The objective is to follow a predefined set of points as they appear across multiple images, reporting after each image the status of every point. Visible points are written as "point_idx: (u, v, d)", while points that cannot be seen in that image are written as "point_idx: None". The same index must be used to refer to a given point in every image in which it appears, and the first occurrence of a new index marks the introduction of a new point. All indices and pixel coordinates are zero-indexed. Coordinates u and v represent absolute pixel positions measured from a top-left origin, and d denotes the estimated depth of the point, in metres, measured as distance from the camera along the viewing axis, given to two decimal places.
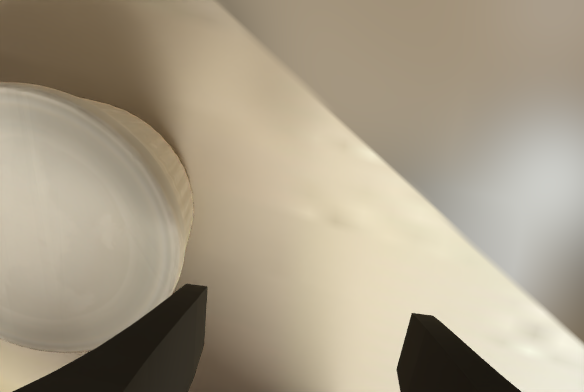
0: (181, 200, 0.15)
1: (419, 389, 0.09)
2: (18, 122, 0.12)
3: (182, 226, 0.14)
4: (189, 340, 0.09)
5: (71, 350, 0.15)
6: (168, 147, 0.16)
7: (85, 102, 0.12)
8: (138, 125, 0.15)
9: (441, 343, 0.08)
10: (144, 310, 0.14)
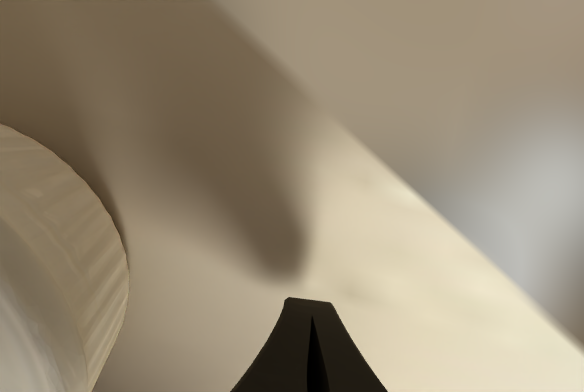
0: (88, 285, 0.08)
1: None
2: None
3: (75, 348, 0.07)
4: None
5: None
6: (78, 188, 0.10)
7: None
8: (12, 155, 0.08)
9: (318, 327, 0.08)
10: None
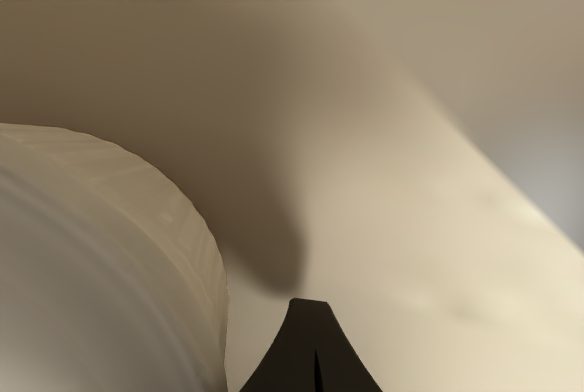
0: (217, 314, 0.08)
1: None
2: None
3: (225, 386, 0.07)
4: None
5: None
6: (189, 208, 0.09)
7: (18, 148, 0.05)
8: (137, 177, 0.08)
9: (313, 326, 0.08)
10: None
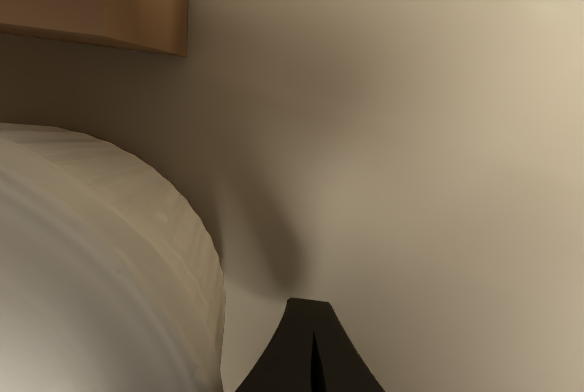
0: (212, 314, 0.08)
1: None
2: None
3: (220, 386, 0.07)
4: None
5: None
6: (185, 207, 0.09)
7: (9, 147, 0.05)
8: (132, 176, 0.08)
9: (316, 327, 0.08)
10: None
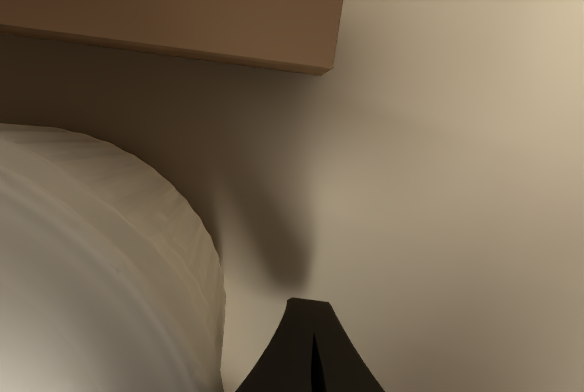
0: (212, 313, 0.08)
1: None
2: None
3: (220, 386, 0.07)
4: None
5: None
6: (185, 207, 0.09)
7: (9, 147, 0.05)
8: (132, 176, 0.08)
9: (316, 327, 0.08)
10: None
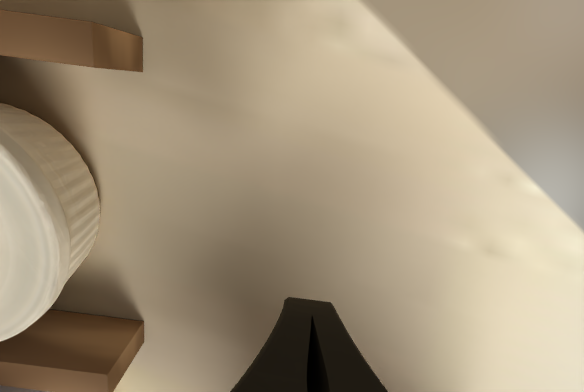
0: (71, 197, 0.15)
1: None
2: None
3: (63, 222, 0.14)
4: None
5: None
6: (66, 146, 0.16)
7: None
8: (28, 124, 0.15)
9: (318, 327, 0.08)
10: (30, 305, 0.14)
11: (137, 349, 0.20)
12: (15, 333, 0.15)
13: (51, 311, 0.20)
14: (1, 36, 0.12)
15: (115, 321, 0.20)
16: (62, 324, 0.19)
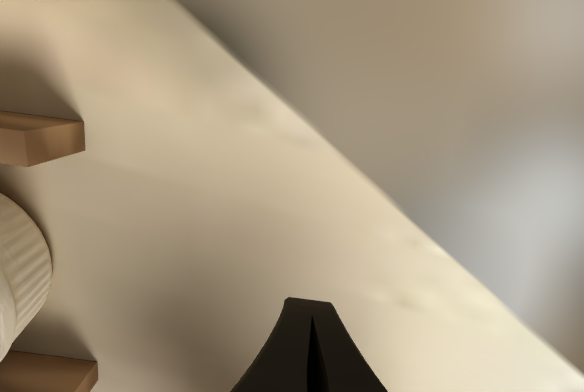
0: (18, 266, 0.17)
1: None
2: None
3: (7, 293, 0.16)
4: None
5: None
6: (17, 216, 0.18)
7: None
8: None
9: (318, 327, 0.08)
10: None
11: (90, 388, 0.22)
12: None
13: (13, 352, 0.22)
14: None
15: (70, 362, 0.22)
16: (21, 366, 0.22)
